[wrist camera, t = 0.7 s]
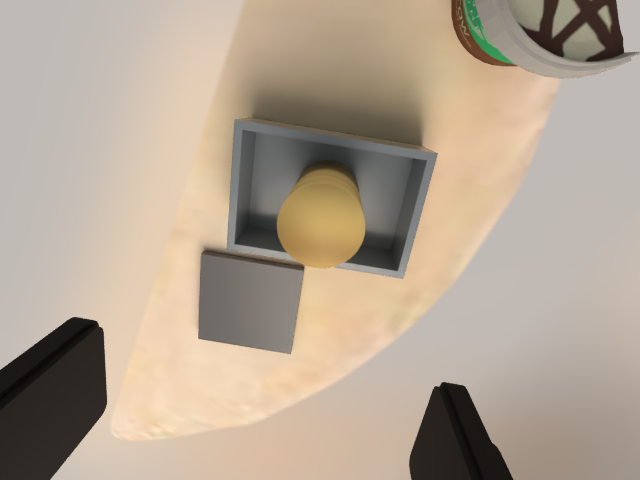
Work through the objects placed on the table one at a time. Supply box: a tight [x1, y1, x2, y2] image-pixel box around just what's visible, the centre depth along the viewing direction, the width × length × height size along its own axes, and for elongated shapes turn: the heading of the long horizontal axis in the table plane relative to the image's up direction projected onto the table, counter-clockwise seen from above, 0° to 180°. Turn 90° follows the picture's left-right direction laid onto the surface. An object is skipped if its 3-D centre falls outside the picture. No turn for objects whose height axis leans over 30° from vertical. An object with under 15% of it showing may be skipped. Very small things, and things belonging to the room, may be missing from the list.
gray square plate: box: [198, 251, 304, 354], centre depth 36 cm, size 10×10×1 cm
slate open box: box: [227, 118, 438, 279], centre depth 29 cm, size 10×15×5 cm
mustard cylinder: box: [277, 160, 365, 268], centre depth 26 cm, size 6×6×10 cm
